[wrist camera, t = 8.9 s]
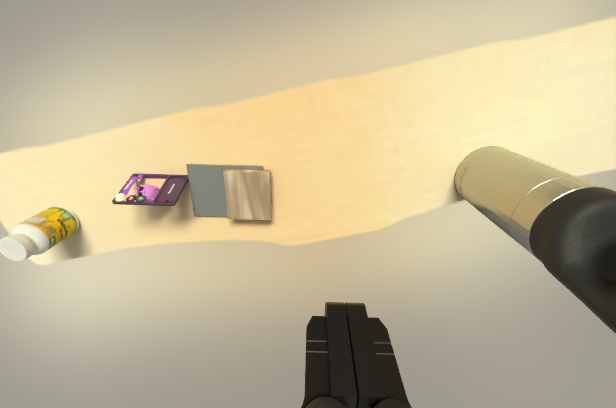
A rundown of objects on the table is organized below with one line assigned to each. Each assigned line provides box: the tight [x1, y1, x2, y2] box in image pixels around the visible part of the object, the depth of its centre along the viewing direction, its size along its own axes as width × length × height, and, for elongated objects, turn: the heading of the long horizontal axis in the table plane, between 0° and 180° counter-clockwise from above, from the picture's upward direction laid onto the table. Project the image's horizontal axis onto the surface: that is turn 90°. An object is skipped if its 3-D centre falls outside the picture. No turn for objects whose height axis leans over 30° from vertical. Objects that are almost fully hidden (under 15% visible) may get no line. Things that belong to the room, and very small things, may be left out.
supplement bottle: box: [0, 206, 79, 261], centre depth 45 cm, size 5×5×10 cm
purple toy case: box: [112, 174, 189, 206], centre depth 45 cm, size 7×5×9 cm
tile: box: [223, 169, 272, 220], centre depth 46 cm, size 2×8×7 cm
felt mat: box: [186, 164, 263, 217], centre depth 47 cm, size 12×9×1 cm
